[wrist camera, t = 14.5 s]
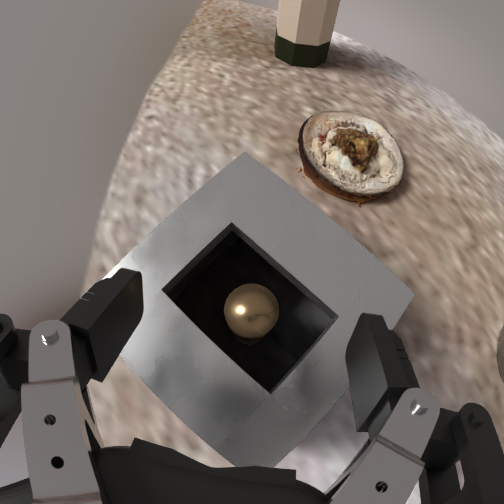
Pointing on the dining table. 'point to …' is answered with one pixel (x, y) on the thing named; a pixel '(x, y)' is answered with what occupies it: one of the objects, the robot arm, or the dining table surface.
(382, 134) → the plate of food
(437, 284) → the dining table surface
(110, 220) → the dining table surface
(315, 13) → the wine bottle
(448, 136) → the dining table surface
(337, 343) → the box
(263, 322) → the brown glossy cylinder
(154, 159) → the dining table surface
